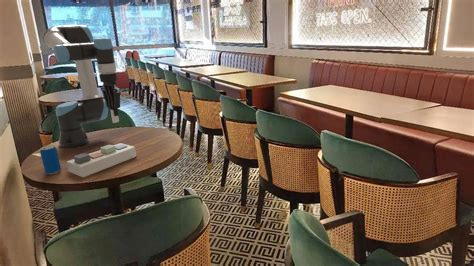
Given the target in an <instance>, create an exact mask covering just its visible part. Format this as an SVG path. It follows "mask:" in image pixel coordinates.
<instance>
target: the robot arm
mask: <svg viewBox="0 0 474 266" xmlns="http://www.w3.org/2000/svg"><path fill="white" fill-rule="evenodd" d="M42 40H43V43H44V44H45V46H47V47H48V48H49V49H52V50H53V54H54V58H55V60H56V61H57V62H58V63H67V62H74V64H75V69H76V71H77V76H78V77H77V78H78V81H79V85H80V89H81V93H82V94H81V95H82V97H81V98H80V102H78V101H76V100H72V101H67V102H63V103H60V104H58V105H57V106H56V107H55V114H56V115H55V116H56V118H57V124H58V127H59V139H58V145H59V147H60V148H74V147H75V148H76V147H78V146H79V147H81V146H83V145H85V144H87V143H88V142H89V141H90V140H89V137H88V135H87V134H86V133H87V132H86V131H85V129H84V128H83V124H88V123H93V122H98V121H99V122H100V121H102V120H105V119H106V118H107V117H108V115H109V114H108V113H109V110H110V115H111V120H112V121H111V122H112V123H113V124H116V123H119V122H120V118H119V117H120V116H119V112H118V111H119V109H120V108H121V92H122V90H121V88H119V87H118V85H117V83H116V82H117V81H118V74H117V72H116V71H117V68H116V62H115V54H114V47H113V42H112V39H111V38H110V37H98V38H97V37H96V38H94V37H93V34H92V31H91V30H90V28H89V26H88V25H85V24H67V25H65V24H64V25H54V26H52V27H49V28H48V29H46V30H45V31H44V33H43V36H42ZM92 60H96V64H97V69H98V73H99V75H98V76H99V81H100V83H102V86H101V87H100V89H98V84H97V80H96V79H97V78H96V75H95V71H94V66H93V62H92ZM99 90H101V92H102V93H101V94H102V95H101V94H100V93H99Z"/></svg>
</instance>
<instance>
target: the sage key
mask: <svg viewBox="0 0 474 266" xmlns="http://www.w3.org/2000/svg"><path fill="white" fill-rule="evenodd" d="M99 148H100V149H99V150H101V153H103V154H106V155H107V154H110V153H113V152H115V151H116V149H115V146H113V144H107V145H104V146H100V147H99Z"/></svg>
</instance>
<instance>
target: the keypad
mask: <svg viewBox="0 0 474 266" xmlns="http://www.w3.org/2000/svg"><path fill="white" fill-rule="evenodd" d="M121 144H122V145H126V146H127V148H124V149H121V150H116V151H115V152H113V153H110V154H107V155H106V154H103V153H101V149H99V150H96V151H93V152H90V153H87V154H88V155H92V154H95V153H97V152H98V153H101V154H103V155H104V156H102V157H99V158H96V159H92V158H90V159H91V160H90V161H88V162H85V163H82V164H78V163H76V162H75V160H74V158H72V159H69V160H67V161H66V164H67V169H68V172H69V173H71V174H73V175H76V176H79V177H81V178H85V177H88V176H90V175H93V174H96V173H98V172H100V171H103V170H106V169H108V168H111V167H113V166H116V165H118V164H121V163H123V162H126V161H129V160H131V159H134V158H135V157H137V152H136V151H137V150H136V147H135V146H133V145H129V144H125V143H121V142H120V143H119V142H118V143H117V144H114V145H113V144H112V145H113V146H118V145H121Z"/></svg>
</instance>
